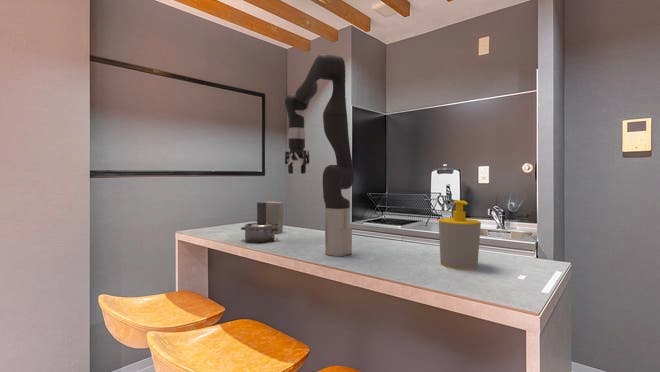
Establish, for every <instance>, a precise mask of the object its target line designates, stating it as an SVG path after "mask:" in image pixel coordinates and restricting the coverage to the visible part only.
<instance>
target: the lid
mask: <svg viewBox="0 0 660 372" xmlns="http://www.w3.org/2000/svg"><path fill="white" fill-rule="evenodd" d="M264 202H265V201H264ZM264 202H263V201H262V202H261V201H260V202H256V223H257V224H252V225H251V226H256V227H259V226H270V225H272V224H267V223H266V203H264Z"/></svg>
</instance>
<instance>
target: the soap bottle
mask: <svg viewBox="0 0 660 372" xmlns="http://www.w3.org/2000/svg"><path fill="white" fill-rule="evenodd" d="M453 203H455V210H453V211H452V217H445V218H439V219H438V236H439V237H438V239H439V256H440V260H439V261H440V265H441V266H443V267H444V268H445V267H446V268H448V269H454V270H463V271H466V270H468V269H469V270H475V269H477V268H478V267H479V265H478V264H479V263H478V262H479V253H480V251H479V250H480V238H481V237H480V236H481V225H482V223H481V221H480V220H478V219H472V218H466V211H465V210H464V205H465V206H466V205H469V203H468V202H467V201H466V200H457V199H456V200H453Z"/></svg>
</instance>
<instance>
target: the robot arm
mask: <svg viewBox="0 0 660 372" xmlns="http://www.w3.org/2000/svg"><path fill="white" fill-rule="evenodd" d="M319 80H324V81H325V80H326V81H331V82H332V92H331V95H330V96H331V97H330V99H329V100H328V101H327V104H326V106H325V108H324V109H323V113H322V120H323V121H322V122H323V130H324V134H325V136H326V139H327V141H328V142H329V144H330V147H332V150H333V151H334V155H335V162H336V164H329V165H327V166H325V168H324V170H323V172H322V195H323V197H322V198H323V201H324V202H323V203H324V206H325V207H324V208H325V209H324V211H325V213H324V215H325V216H324V228H325V229H324V235H325V236H324V237H325V239H324V242H325V245H324V246H325V248H324V251H325V252H324V253H325V254H326V255H328V256H335V257H337V256H338V257H344V256H348V255H351V254H353V230H352V229H353V228H351V226H350V225H351V220H350V219H351V216H350V215H351V212H350V211H351V209H350V208H351V202H350V200H349V199H347V198H345V197H344V196H343V194H342V190H348V189H351V187H352V186H353V185H354V182H355V170H354V163H353V159H352V155H351V153H352V152H351V147H350V146H351V145H350V144H351V143H350V136H349V123H348V122H349V121H348V113H347V101H346V100H347V99H346V64H345V60H344V58H343V57H342V56H339V55H335V54H330V53H329V54H328V53H319V54H318V55H317V56H316V57H315V59H314V61H313V63H312V65H311V67H310V69H309V70H308V73H307V75H306V77H305V79H304V81H303V82H302V83H301V84H300V86H299V87H298V88H297V89H296V91H295V93H287V95H286V96H285V99H284V105H285V106H284V107H285V109H286V113H287V116H288V149H289V151H285V152H284V164H285V165H287V167H288V168H287V172H288V174H290V175H291V174H294V163H296V162H299V163H300V174H302V175H305V174H306V172H307V171H306V170H307V165H309V164H310V151H309V150H308V149H307V150H305V147H306V133H305V132H306V131H305V117H304V116H303V115H301V114H298V113H297V112H296V111H299V112H302V111H303V112H304V111H306V110H307V108H308V107H309V103H310V101H311V99H312V98H313V97H315V95H316V94H317V92H318V83H317V82H318V81H319Z"/></svg>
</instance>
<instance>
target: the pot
mask: <svg viewBox="0 0 660 372" xmlns="http://www.w3.org/2000/svg"><path fill="white" fill-rule="evenodd" d="M252 224H257V222H251V223H246V224H244V226H241V227H240V230H241V231H244V242H245V243H248V244H268V243H273V242H275V240H276V238H275V237H276V236H275V235H276V234H275V231H279V228H275V224H274V223H267V224H272V225H270V226H259V227H256V226H251V225H252Z"/></svg>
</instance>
